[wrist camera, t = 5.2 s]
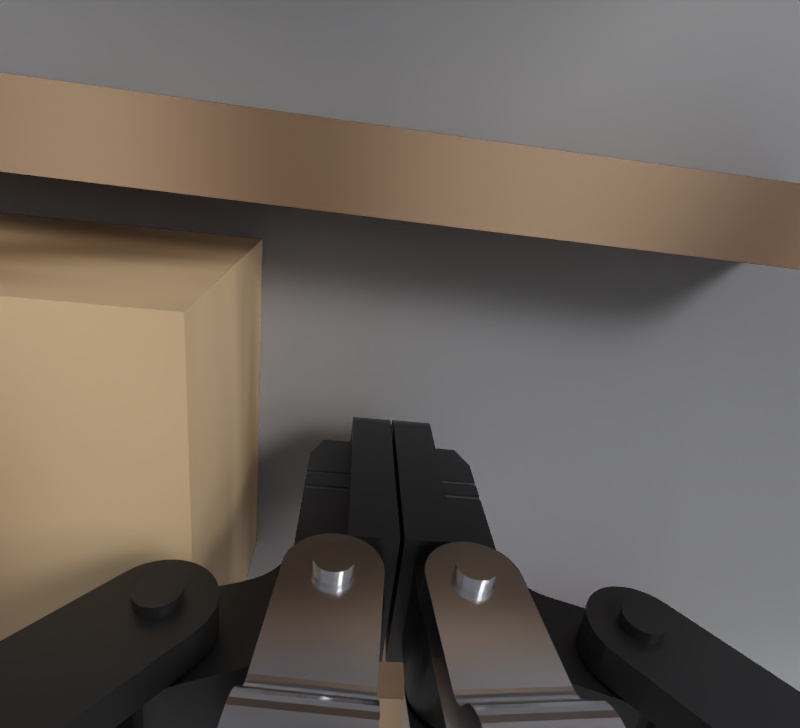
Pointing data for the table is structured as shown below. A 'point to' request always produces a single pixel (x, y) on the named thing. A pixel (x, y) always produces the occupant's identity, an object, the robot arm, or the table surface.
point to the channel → (390, 184)
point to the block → (123, 406)
